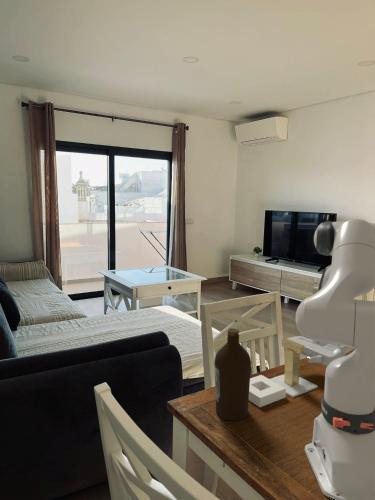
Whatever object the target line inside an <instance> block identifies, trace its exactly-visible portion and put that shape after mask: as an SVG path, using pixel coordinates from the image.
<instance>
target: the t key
mask: <svg viewBox="0 0 375 500" xmlns="http://www.w3.org/2000/svg"><path fill="white" fill-rule="evenodd" d="M287 338H288V337H287ZM287 338H286V337H284V338H282V339H281V346H282V347H283V348H285V350H284V352H285V353H284V355H285V356H284V382H285V383H286V384H288V385H290V386H295V385H297V384H299V377H300V366H301V365H300V363H301V355H302V353H304V350H305V346H304V345H302V344H299V343H297V342H294V341H292V340H289V339H287Z"/></svg>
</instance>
